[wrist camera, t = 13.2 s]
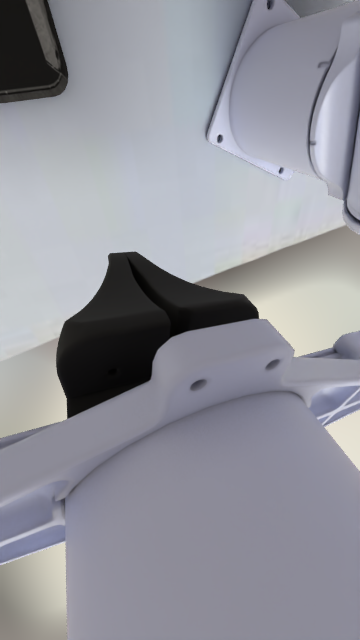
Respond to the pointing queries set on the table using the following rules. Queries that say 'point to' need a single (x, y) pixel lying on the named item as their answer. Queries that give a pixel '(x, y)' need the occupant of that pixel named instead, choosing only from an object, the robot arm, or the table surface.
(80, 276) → the table surface
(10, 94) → the phone
